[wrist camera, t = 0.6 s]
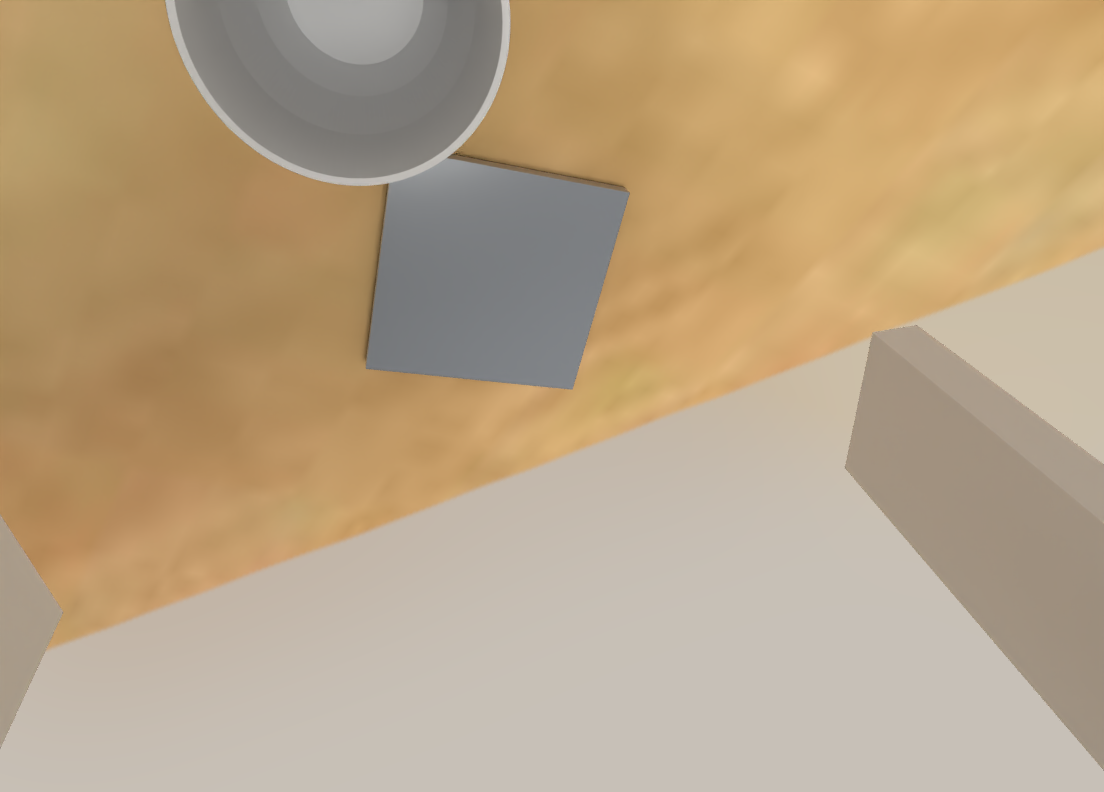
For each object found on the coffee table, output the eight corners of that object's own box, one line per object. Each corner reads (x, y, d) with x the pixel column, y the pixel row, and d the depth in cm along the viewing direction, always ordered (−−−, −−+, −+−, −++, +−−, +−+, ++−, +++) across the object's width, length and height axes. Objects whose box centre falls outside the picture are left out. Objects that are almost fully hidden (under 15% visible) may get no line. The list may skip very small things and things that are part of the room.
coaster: (365, 360, 34) (365, 368, 33) (393, 142, 29) (393, 148, 28) (568, 381, 37) (572, 389, 36) (624, 187, 32) (629, 192, 31)
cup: (384, 153, 29) (389, 242, 21) (186, 4, 25) (97, 42, 17) (512, -24, 27) (574, 0, 19) (315, -218, 23) (284, -298, 15)
